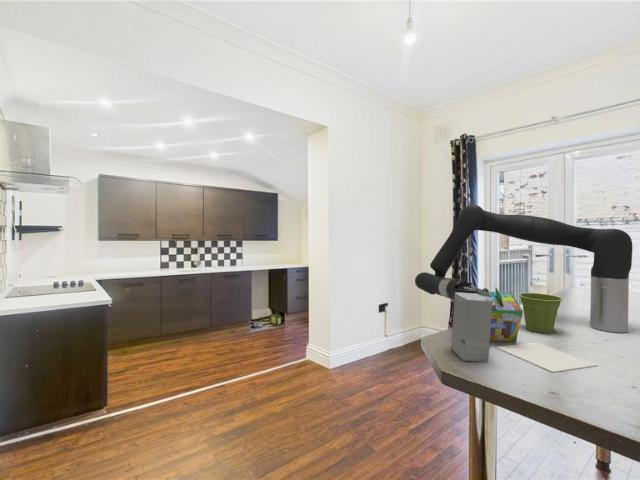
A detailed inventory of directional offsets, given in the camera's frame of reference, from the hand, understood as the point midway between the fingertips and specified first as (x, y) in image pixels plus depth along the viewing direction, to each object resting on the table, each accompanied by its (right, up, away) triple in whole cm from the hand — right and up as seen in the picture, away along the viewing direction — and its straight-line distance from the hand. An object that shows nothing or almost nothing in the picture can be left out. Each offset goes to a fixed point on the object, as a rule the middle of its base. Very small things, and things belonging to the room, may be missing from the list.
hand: (491, 297), depth 96 cm
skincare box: (-14, -13, -15) cm, 24 cm away
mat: (+5, -12, -16) cm, 20 cm away
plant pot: (+19, -12, +6) cm, 24 cm away
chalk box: (0, -10, -1) cm, 10 cm away
